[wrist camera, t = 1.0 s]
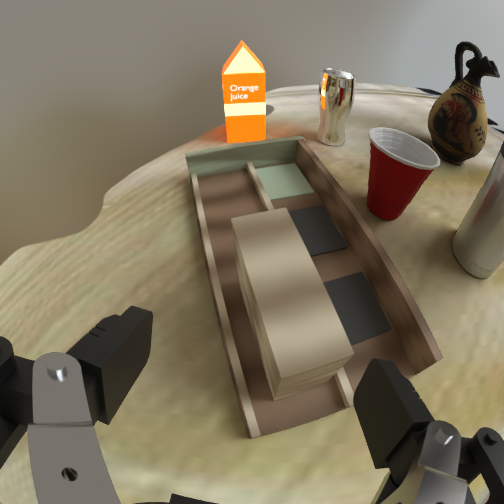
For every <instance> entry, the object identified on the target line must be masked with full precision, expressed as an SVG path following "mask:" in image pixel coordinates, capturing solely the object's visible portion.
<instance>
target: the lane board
mask: <svg viewBox="0 0 504 504" xmlns="http://www.w3.org/2000/svg"><path fill="white" fill-rule="evenodd" d="M185 155H186V161H187V166H188V171H189V175H190V180H191V186H192V192H193V198H194V204H195V210H196V215H197V221H198V226H199V231H200V237H201V242H202V247H203V252H204V257H205V262H206V267H207V272H208V276H209V281H210V286H211V291H212V295H213V300H214V304H215V309H216V313H217V318H218V322H219V326H220V330H221V335H222V339H223V343H224V347H225V351H226V355H227V359H228V363H229V367H230V371H231V375H232V379H233V383H234V387H235V390H236V394H237V398H238V401H239V405H240V409H241V412H242V416H243V419H244V423H245V427H246V430H247V433H248V437H249V439H251V438H255V437H259V436H263V435H267V434H271V433H274V432H278V431H281V430H285V429H288V428H291V427H295V426H298V425H301V424H304V423H307V422H310V421H313V420H316V419H319V418H322V417H324V416H327V415H330V414H332V413H335V412H338V411H340V410H343V409H345V408H348V407H350V406H352V405H354V404H353V396H354V392H355V390H356V388H357V386H358V384H359V382H360V380H361V378H362V376H363V374H364V372H365V370H366V368H367V366H368V364H369V362H370V361H371V360H372V359H374V358H377V359H387V360H392V361H393V362H394V363H395V365H396V366H397V368H398V369H399V371H400V372H401V374H402V375H403V376H404V377H406V378H407V379H409V378H411V377H413V376H414V375H416V374H418V373H420V372H421V371H423V370H425V369H426V368H428V367H429V366H431V365H433V364H434V363H436V362H437V361H439V360H440V359H442V358H443V356H442V354H441V351H440V349H439V347H438V345H437V343H436V341H435V339H434V337H433V335H432V333H431V331H430V329H429V327H428V325H427V323H426V321H425V319H424V317H423V315H422V313H421V311H420V310H419V308H418V306H417V304H416V302H415V300H414V299H413V297H412V295H411V293H410V291H409V290H408V288H407V286H406V284H405V283H404V281H403V279H402V278H401V276H400V274H399V273H398V271H397V269H396V268H395V266H394V264H393V263H392V261H391V259H390V258H389V256H388V255H387V253H386V251H385V250H384V248H383V247H382V245H381V244H380V242H379V241H378V239H377V238H376V236H375V235H374V233H373V232H372V230H371V229H370V227H369V226H368V224H367V223H366V221H365V220H364V218H363V217H362V215H361V214H360V213H359V211H358V210H357V208H356V207H355V206H354V204H353V203H352V201H351V200H350V199H349V197H348V196H347V194H346V193H345V192H344V190H343V189H342V188H341V186H340V185H339V184H338V182H337V181H336V180H335V179H334V177H333V176H332V175H331V173H330V172H329V171H328V169H327V168H326V167H325V166H324V164H323V163H322V162H321V161H320V159H319V158H318V157H317V156H316V154H315V153H314V152H313V151H312V150H311V148H310V147H309V146H308V145H307V144H306V142H305V141H304V138H303V137H302V136H292V137H283V138H274V139H267V140H259V141H252V142H246V143H239V144H233V145H227V146H221V147H216V148H211V149H205V150H200V151H195V152H191V153H186V154H185ZM292 163H295V164H296V166H297V167H298V168H299V170H300V171H301V173H302V174H303V176H304V177H305V179H306V180H307V182H308V183H309V185H310V186H311V188H312V189H313V191H314V193H313V194H308V195H302V196H296V197H290V198H285V199H279V200H274V201H270V199H269V197H268V195H267V193H266V191H265V189H264V187H263V184H262V182H261V180H260V178H259V176H258V174H257V172H256V170H255V169H260V168H266V167H272V166H279V165H285V164H292ZM319 205H323V206H324V208H325V210H326V211H327V213H328V214H329V216H330V218H331V219H332V221H333V223H334V224H335V226H336V227H337V229H338V231H339V232H340V234H341V236H342V237H343V239H344V241H345V242H346V244H347V246H348V247H347V248H345V249H341V250H337V251H333V252H329V253H325V254H321V255H317V256H313V257H311V259H312V261H313V263H314V265H315V267H316V269H317V271H318V273H319V276H320V278H321V280H322V282H327V281H330V280H334V279H337V278H341V277H344V276H348V275H351V274H355V273H358V272H361V271H362V272H363V274H364V276H365V278H366V280H367V281H368V283H369V285H370V287H371V289H372V291H373V293H374V294H375V296H376V298H377V300H378V302H379V304H380V306H381V308H382V310H383V312H384V314H385V316H386V318H387V320H388V322H389V324H390V326H391V328H392V329H391V330H389V331H387V332H384V333H382V334H380V335H377V336H375V337H372V338H370V339H367V340H365V341H362V342H360V343H357V344H354V345H352V346H351V347H352V349H353V351H354V355H353V356H352V357H351V358H350V359H349V360H348V361H347V362H346V363H345V364H344V365H343V366H342V367H341V368H340V369H339V370H338V372H337V373H336V374H335V375H334V376H333V377H332V378H331V379H329V380H328V381H327V382H326V383H325V384H324V385H323V386H320V387H317V388H314V389H311V390H308V391H305V392H302V393H299V394H296V395H292V396H289V397H286V398H282V399H279V400H275V401H274V400H273V396H272V393H271V390H270V387H269V383H268V380H267V377H266V374H265V370H264V367H263V364H262V361H261V357H260V354H259V351H258V347H257V344H256V340H255V337H254V334H253V330H252V327H251V324H250V320H249V317H248V313H247V310H246V306H245V303H244V299H243V296H242V293H241V289H240V286H239V282H238V275H237V266H236V258H235V250H234V241H233V232H232V224H231V218H235V217H240V216H245V215H250V214H255V213H260V212H265V211H270V210H275V209H280V208H285V207H286V209H287V211H292V210H298V209H303V208H308V207H314V206H319Z"/></svg>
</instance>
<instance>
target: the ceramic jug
mask: <svg viewBox="0 0 504 504" xmlns="http://www.w3.org/2000/svg"><path fill="white" fill-rule="evenodd" d="M465 50H470V51H473V53H474V56H475V57H474V58H472V59H470V60H468V61H467V62H466V66H467V67H468V68H469V72H468V74H467V75H466V76H465V77H464V78H463V53H464V51H465ZM455 71H456V76H455V80H454V81H453V82H452V84H451V86H450V87H449V89H448V90H446V91H445V92H444V93H443V94H442V95H441V96H440V97H439V98H438V99H437V100H436V101H435V103H434V105H433V106H432V109H431V111H430V113H429V118H428V128H429V132H430V134H431V137H432V140H433V141H432V142H431V145H432V148H433V150H434V151H435V152H436V153H437V154H438V155H439V156H440V157H441V158H442V159H443V160H445V161H447V162H450V163H452V164H454V165H458V166H461V164H462V163H463V161H465V160H467V159H470V158H472V157H475V156H476V155H477V154H478V153H479V152H480V151H481V150H482V148H483V146H484V144H485V140H486V134H487V115H486V108H485V102H484V98H483V95H482V91H481V87H480V83H481V78H482V77H483V76H492V77H497V78H499V77H500V75H499V73H498V70H497V67H496V66H495V63H494V62H493V61H489V60H488V58H487V57H486V56H485V57H483V58H482V54H481V52H480V50H479V48H478V47H477V46H475V45H474V44H472V43H470V42H461V43H459V44H458V45H457V47H456V53H455Z"/></svg>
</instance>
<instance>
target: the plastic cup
mask: <svg viewBox="0 0 504 504" xmlns="http://www.w3.org/2000/svg"><path fill="white" fill-rule="evenodd" d="M369 138H370V141H371V143H370V146H371V150H370V153H371V158H370V170H369V180H368V195H367V204H368V208H369V209H370V211H371V212H372V213H373V214H374V215H375V216H377V217H379V218H381V219H385V220H395V219H396V218H398V217H399V216H400V215H401V214H402V212H403V211H404V209H405V208H406V206H407V205H408V204H409V203H410V202H411V200H412V199H413V197H414V196H415V194H416V193H417V191H418V190H419V188H420V187H421V185H422V184H423V182H424V181H425V180H426V179H427V177H428V176H429V175H430V174H431V172H432V171H433V170H434V169H436V168H438V167H439V165H440V159H439V157H438V155H437V154H436V153H435V152H434V151H433V150H432V149H431V148H430V147H429V146H428V145H426V144H425V143H423V142H422V141H420V140H419V139H417V138H415V137H413V136H411V135H409V134H407V133H404V132H401V131H398V130H395V129H391V128H384V127H377V128H372V129H371V130H370V131H369Z"/></svg>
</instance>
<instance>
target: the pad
mask: <svg viewBox="0 0 504 504" xmlns="http://www.w3.org/2000/svg"><path fill="white" fill-rule="evenodd" d="M255 170H256V172H257V174H258V176H259V178H260V180H261V182H262V184H263V187H264V189H265V191H266V193H267V195H268V197H269V199H270V201H274V200H279V199H285V198H290V197H296V196H302V195H308V194H313V193H314V191H313V189H312V188H311V186H310V185H309V183H308V182H307V180H306V179H305V177H304V176H303V174H302V173H301V171H300V170H299V168H298V167H297V166H296V164H295V163H292V164H285V165H279V166H272V167H266V168H260V169H255Z"/></svg>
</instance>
